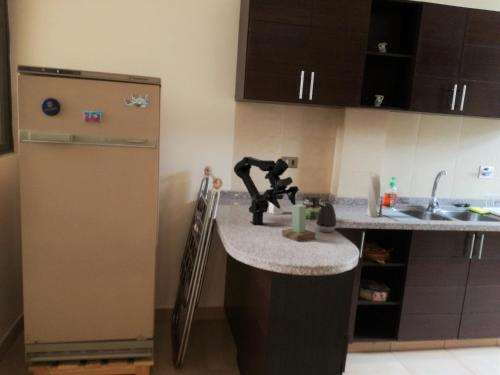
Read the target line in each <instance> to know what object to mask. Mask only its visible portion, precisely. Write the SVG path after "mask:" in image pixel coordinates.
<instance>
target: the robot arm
mask: <svg viewBox="0 0 500 375" xmlns="http://www.w3.org/2000/svg"><path fill="white" fill-rule="evenodd" d="M252 166H253V167H256V168H259V170H260V171H261V172H264V173H265V172H267V173H265V176H264V179H265V180H268V182H269V184H270V185H269V187H270V189H269V188H268V189H265V191H264V193H263V194H260V192H259V190H258V188H257V186H256V184H255V182H254V181H253V179H252V177H251V175H250V174H251V169H252ZM288 168H289V164H288V163H287V162H286V161H285V160H283V159H282V158H278V159H277V160H276V161H275V160H270V159H269V160H266V159H265V160H263V159H259V158H256V157H253V156H243V158H241V160H239V161H237V163H235V165H234V167H233V171H234V174H236V177H238V178H239V179H241V181H242V183H243V184H244V186H245V188H246V190H247V192H248V194H249V195H250V198H251V202H250V204H251V205H250V206H249V207H248V211H249V213H251V214H252V219H251V220H252V221H249V222H250V223H251V224H252V225H254V226H255V225H266V223H265V222H264V213H268V210H269V202H270V203H272V204H273V205H275V206H276V207H277V208H278V209H280V205H279V203H278V201H277V198H276V195H281V194H283V195H287V198H288V200H289V201H290V203H291V204H292V205H297V201H296V195H297V193H298V192H299V191H300V188H299V187H298V186H297V185H292V186H291V184H293V178H292V177H291V176H288V177H286V178H281V177H280V176H282V175H284V174H285V172H286V170H288ZM288 186H289V187H288Z"/></svg>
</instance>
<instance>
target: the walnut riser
mask: <svg viewBox="0 0 500 375" xmlns="http://www.w3.org/2000/svg"><path fill="white" fill-rule="evenodd" d="M281 237H284V238H286V239H289V240H292V241H295V242H303V241H304V242H305V241H309V240H315V239H316V232H314V231H311V230H307V229H306V231H305V232H301V233H297V232H294V231H292V228H287V229H282V230H281Z"/></svg>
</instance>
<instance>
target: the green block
mask: <svg viewBox="0 0 500 375" xmlns="http://www.w3.org/2000/svg"><path fill="white" fill-rule="evenodd" d="M291 208H292V210H291V211H292V212H291V215H292V216H291V217H292V218H291V229H292V231H294V232H297V233H301V232H305V231H306V230H307V229H306V228H307V227H306V223H307V221H306V206H305V205H303V204H300V203H299V204H297V203H296V205H293V204H292V206H291Z"/></svg>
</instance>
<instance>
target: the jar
mask: <svg viewBox="0 0 500 375" xmlns="http://www.w3.org/2000/svg"><path fill="white" fill-rule="evenodd" d="M276 198H277V201H278V203H279V205H280V209H278V208H277V207H276V206H275V205H273V204H272V203H270V202H269V201H268V204H269V206H268V213H269V214H271V213H272V214H273V215H282V214H283V213H284V204H285V203H284V202H285V201H284V200H285V198H284V194H281V195H276ZM272 214H271V215H272Z"/></svg>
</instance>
